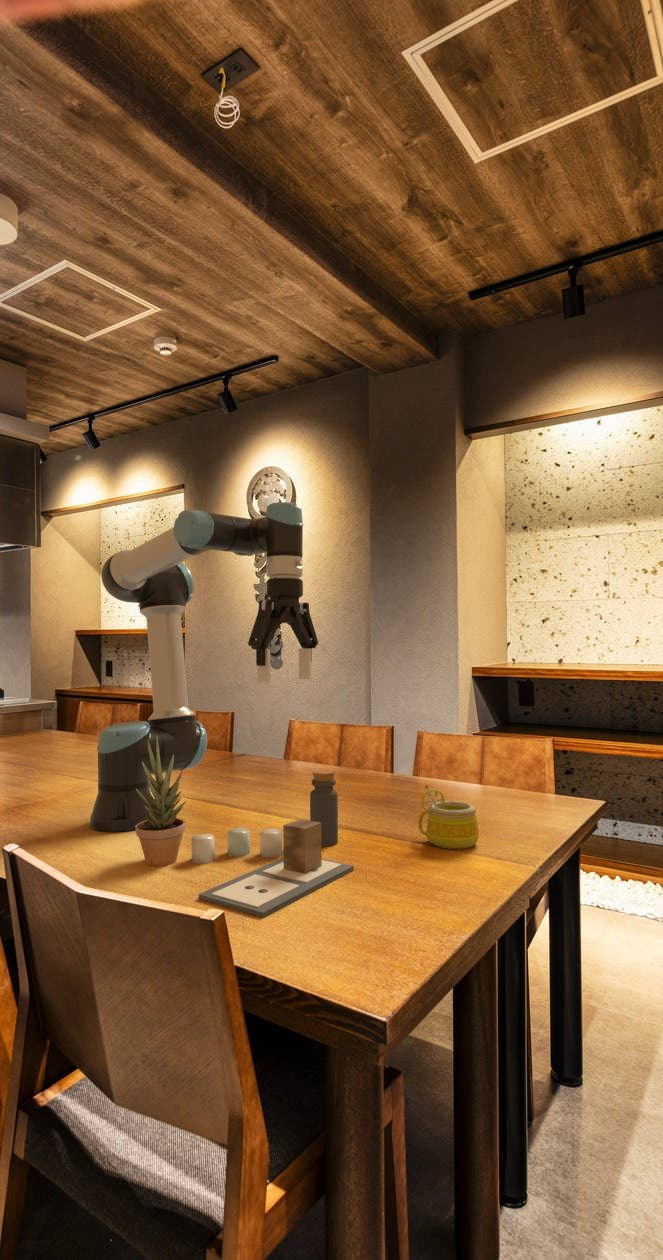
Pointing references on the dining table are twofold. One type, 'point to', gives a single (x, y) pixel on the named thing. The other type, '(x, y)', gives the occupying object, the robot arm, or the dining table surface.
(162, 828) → the potted plant
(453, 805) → the mug
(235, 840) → the grey-green upright cylinder
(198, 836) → the pale grey cylinder
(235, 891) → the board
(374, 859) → the dining table surface
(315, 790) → the bottle
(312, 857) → the block
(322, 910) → the dining table surface
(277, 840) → the short white cylinder
